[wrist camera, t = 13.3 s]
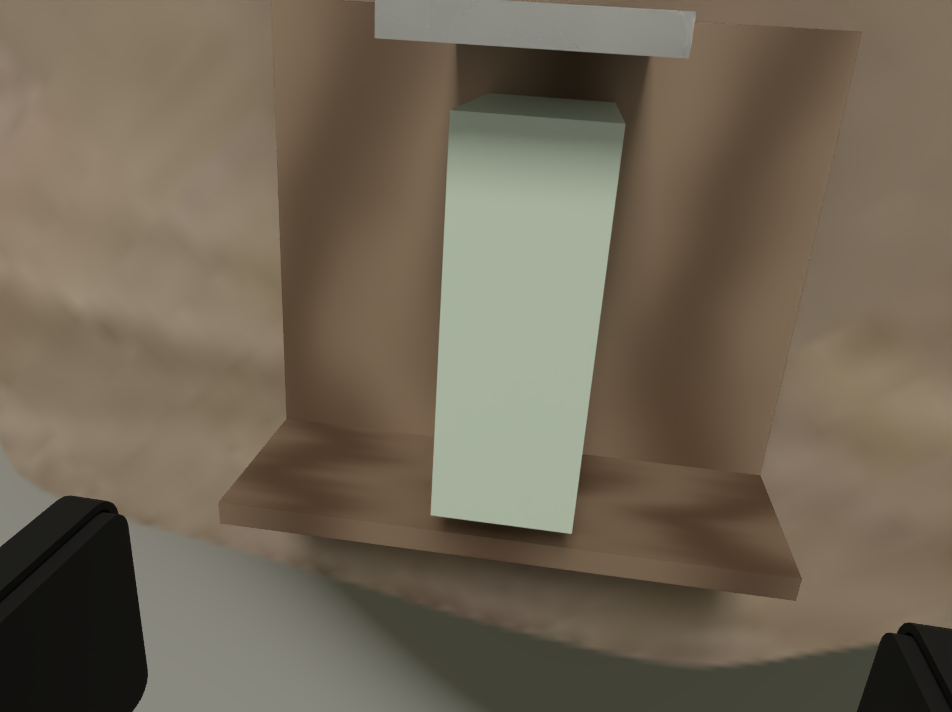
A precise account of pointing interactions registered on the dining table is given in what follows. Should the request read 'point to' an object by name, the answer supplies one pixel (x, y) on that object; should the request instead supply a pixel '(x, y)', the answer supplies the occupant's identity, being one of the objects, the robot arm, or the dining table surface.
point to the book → (521, 304)
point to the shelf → (626, 283)
